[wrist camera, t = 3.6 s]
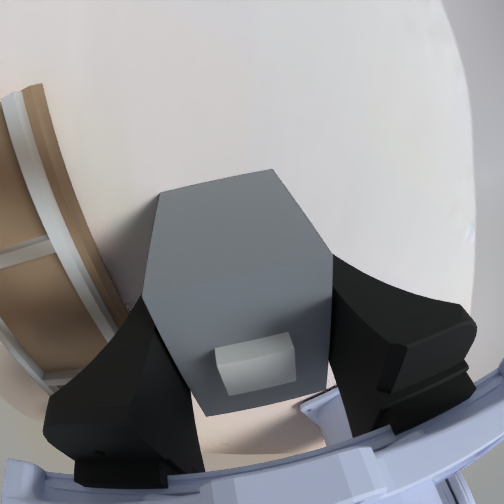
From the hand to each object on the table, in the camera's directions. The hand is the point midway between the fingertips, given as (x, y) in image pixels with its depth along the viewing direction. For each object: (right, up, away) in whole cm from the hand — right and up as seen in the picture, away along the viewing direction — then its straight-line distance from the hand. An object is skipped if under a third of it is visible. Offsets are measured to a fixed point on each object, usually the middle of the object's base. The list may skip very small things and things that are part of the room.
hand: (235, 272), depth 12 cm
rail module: (0, +1, +2) cm, 2 cm away
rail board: (-10, -2, +2) cm, 10 cm away
